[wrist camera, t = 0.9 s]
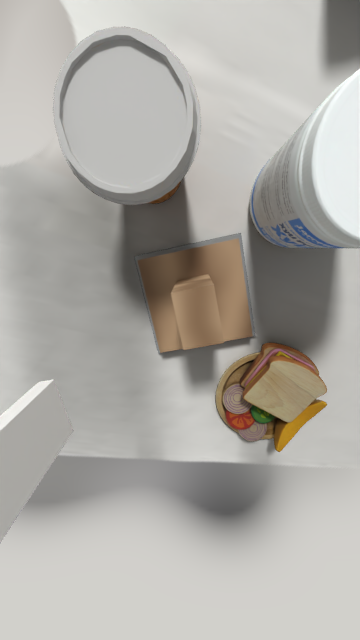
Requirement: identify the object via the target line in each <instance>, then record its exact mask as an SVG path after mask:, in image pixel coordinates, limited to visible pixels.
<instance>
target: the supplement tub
mask: <svg viewBox="0 0 360 640" xmlns="http://www.w3.org/2000/svg"><path fill="white" fill-rule="evenodd" d="M250 213H251V217H252V220H253V223H254V225H255V227H256V229H257V230H258V232H259V233H260V234H261V235H262V236H263V237H264V238H265V239H266V240H268V241H269V242H271V243H273V244H275V245H277V246H280V247H285V248H360V69H359V70H357V71H356V72H355V73H354V74H353V75H352V76H351V77H349V78H348V79H346V80H345V81H344V82H343V83H342V84H340V85H339V86H338V87H337V88H336V89H335V90H334V91H333V92H332V93H331V94H330V95H329V96H328V97H327V98H326V99H325V100H324V101H323V103H322V104H321V105H320V106H319V107H318V108H317V109H316V110H315V111H314V112H313V113H312V114H311V115H310V116H309V118H308V119H307V120H306V121H305V122H304V123H303V124H302V125H301V126H300V127H299V128H298V130H297V131H296V132H295V133H294V134H293V135H292V136H291V137H290V138H289V139H288V141H287V142H286V143H285V144H284V145H283V146H282V147H281V148H280V149H279V150H278V151H277V152H276V154H275V155H274V156H273V157H272V158H271V159H270V160H269V161H268V162H267V163H266V165H265V166H264V167H263V168H262V169H261V171H260V172H259V174H258V176H257V177H256V179H255V182H254V184H253V187H252V190H251V195H250Z"/></svg>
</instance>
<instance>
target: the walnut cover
mask: <svg viewBox="0 0 360 640" xmlns="http://www.w3.org/2000/svg"><path fill="white" fill-rule="evenodd" d="M137 261H138V265H139V269H140V273H141V277H142V281H143V285H144V289H145V293H146V297H147V301H148V306H149V310H150V314H151V318H152V322H153V326H154V330H155V334H156V338H157V342H158V346H159V350H160V353H162V352H167V351H173V350H179V349H183V350H187V349H193V348H198V347H204V346H210V345H215V344H221V343H224V341H229V340H235V339H241V338H246V337H252V336H253V334H252V327H251V320H250V313H249V306H248V299H247V292H246V285H245V278H244V271H243V264H242V257H241V250H240V243H239V238H238V239H233V240H229V241H224V242H219V243H215V244H210V245H205V246H201V247H196V248H192V249H187V250H182V251H178V252H173V253H169V254H164V255H159V256H155V257H150V258H146V259H141V260H137Z"/></svg>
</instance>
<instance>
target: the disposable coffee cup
mask: <svg viewBox="0 0 360 640" xmlns="http://www.w3.org/2000/svg"><path fill="white" fill-rule="evenodd" d="M53 113H54V123H55V128H56V132H57V136H58V140H59V143H60V146H61V149H62V153H63V155H64V157H65V159H66V161H67V163H68V165H69V167H70V168H71V170H72V171H73V173H74V174H75V176H76V177H77V178H78V179H79V180H80V181H81V183H82V184H84V185H85V186H86V187H87V188H88V189H89V190H91V191H92V192H93V193H95V194H96V195H98V196H100V197H102V198H104V199H106V200H108V201H112V202H115V203H118V204H126V205H137V204H144V203H151V204H155V203H161V202H164V201H166V200H167V199H169V198H170V197H171V196H172V195H174V193H175V192H176V190H177V189H178V187H179V185H180V183H181V180H182V178H183V177H184V176H185V175H186V173H187V171H188V170H189V168H190V166H191V164H192V162H193V160H194V157H195V155H196V152H197V149H198V145H199V139H200V131H201V114H200V104H199V100H198V97H197V93H196V89H195V86H194V84H193V82H192V80H191V77H190V75H189V73H188V71H187V70H186V68H185V67H184V66H183V64H182V63H181V62H180V60H179V59H178V57H176V56H175V55H174V54H173V53H172V52H171V51H170V50H169V49H168V48H167V46H166V45H164V44H163V43H162V42H160V41H159V40H158V39H156V38H155V37H154V36H152V35H151V34H148V33H146V32H144V31H141V30H139V29H135V28H130V27H111V28H107V29H103V30H99V31H96V32H95V33H93V34H92V35H90V36H89V37H87V38H85V39H84V40H82V41H81V42H80V43H79V44H78V45H77V46H76V47H75V48H74V49H73V50H72V51H71V52H70V54H69V56H68V57H67V59H66V61H65V63H64V64H63V66H62V68H61V70H60V73H59V76H58V79H57V82H56V86H55V90H54V103H53Z"/></svg>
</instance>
